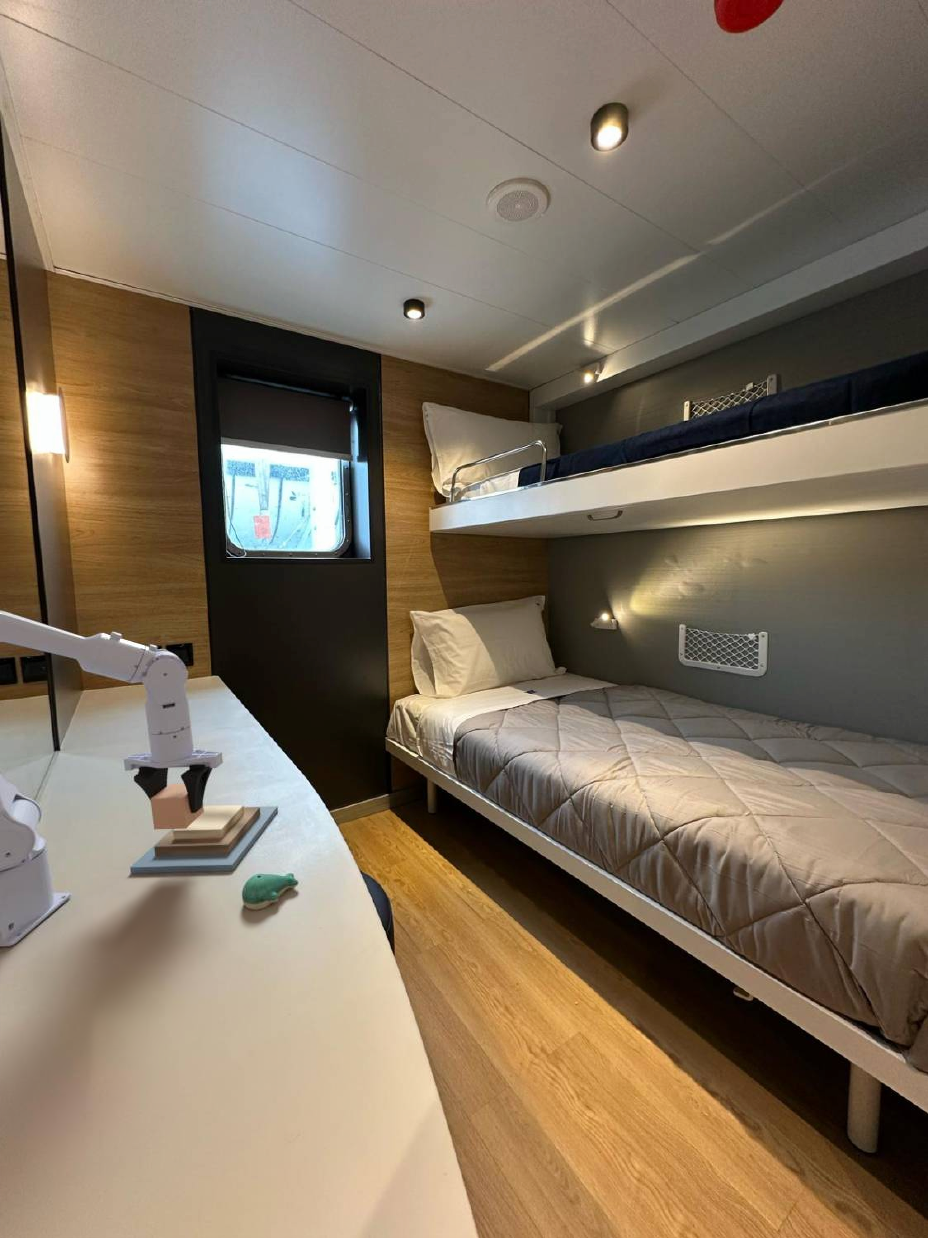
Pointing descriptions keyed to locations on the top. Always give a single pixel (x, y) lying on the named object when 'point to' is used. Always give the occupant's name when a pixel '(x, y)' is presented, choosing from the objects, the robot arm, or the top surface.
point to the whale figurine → (266, 889)
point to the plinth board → (205, 859)
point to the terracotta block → (173, 808)
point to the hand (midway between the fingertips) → (179, 810)
